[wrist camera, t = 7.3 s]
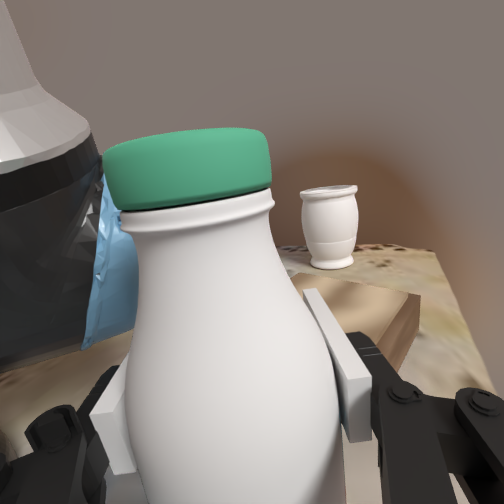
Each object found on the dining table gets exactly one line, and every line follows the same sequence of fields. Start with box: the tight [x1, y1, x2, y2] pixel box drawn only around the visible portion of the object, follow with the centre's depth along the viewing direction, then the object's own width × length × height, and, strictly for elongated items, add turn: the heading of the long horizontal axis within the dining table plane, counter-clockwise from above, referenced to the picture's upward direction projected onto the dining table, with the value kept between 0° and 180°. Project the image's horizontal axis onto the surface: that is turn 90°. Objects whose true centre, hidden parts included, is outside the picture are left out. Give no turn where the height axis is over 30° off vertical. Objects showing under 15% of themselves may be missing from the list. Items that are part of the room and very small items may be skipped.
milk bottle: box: [102, 128, 346, 504], centre depth 10 cm, size 8×8×20 cm
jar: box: [300, 185, 358, 269], centre depth 52 cm, size 11×10×15 cm
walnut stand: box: [290, 273, 421, 423], centre depth 30 cm, size 16×16×5 cm
